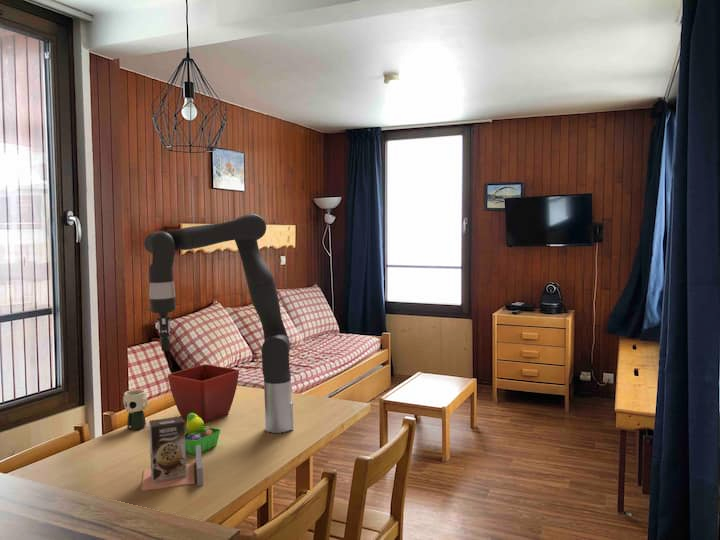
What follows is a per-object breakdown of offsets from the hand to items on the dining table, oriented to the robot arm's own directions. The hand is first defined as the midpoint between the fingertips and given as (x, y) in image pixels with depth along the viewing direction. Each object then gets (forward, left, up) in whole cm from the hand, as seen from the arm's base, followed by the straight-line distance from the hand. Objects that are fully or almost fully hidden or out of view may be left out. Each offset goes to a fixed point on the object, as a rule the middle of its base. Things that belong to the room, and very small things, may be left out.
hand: (165, 348), depth 185 cm
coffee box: (0, +19, -33) cm, 39 cm away
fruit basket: (-9, -1, -34) cm, 35 cm away
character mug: (+12, -29, -34) cm, 46 cm away
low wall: (-8, +19, -34) cm, 40 cm away
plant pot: (-12, -34, -34) cm, 49 cm away
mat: (0, +19, -34) cm, 39 cm away
